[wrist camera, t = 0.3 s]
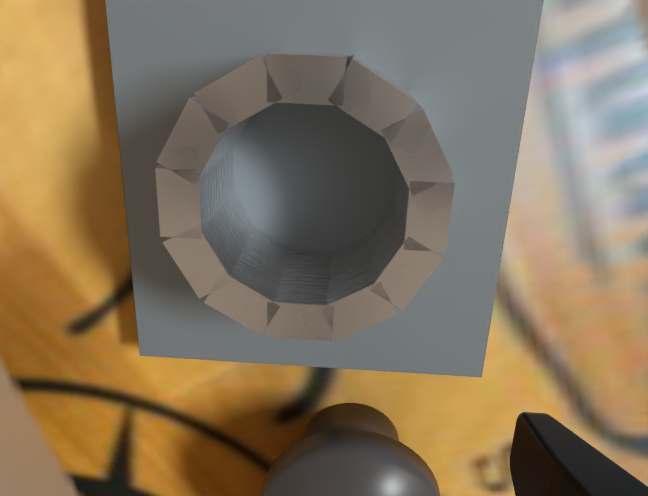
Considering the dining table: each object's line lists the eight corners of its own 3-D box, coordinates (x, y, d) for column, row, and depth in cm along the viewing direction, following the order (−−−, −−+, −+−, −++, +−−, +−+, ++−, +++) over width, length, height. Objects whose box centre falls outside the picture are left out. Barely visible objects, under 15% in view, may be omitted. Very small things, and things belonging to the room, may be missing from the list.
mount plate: (474, 357, 23) (481, 377, 22) (152, 337, 24) (139, 355, 23) (540, -69, 18) (556, -79, 16) (116, -82, 18) (96, -92, 17)
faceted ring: (418, 285, 21) (434, 347, 17) (205, 272, 21) (167, 330, 17) (443, 56, 18) (470, 61, 14) (195, 46, 18) (146, 48, 14)
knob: (421, 506, 27) (435, 606, 22) (274, 496, 27) (256, 592, 22) (437, 381, 24) (456, 464, 19) (274, 371, 24) (255, 450, 20)
